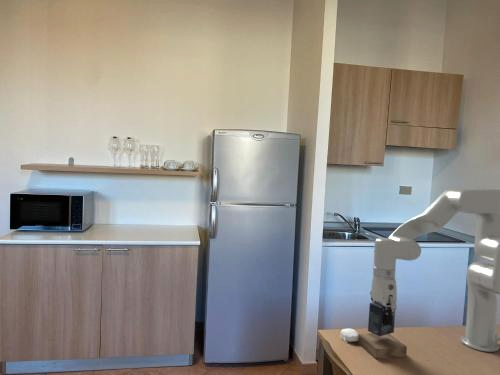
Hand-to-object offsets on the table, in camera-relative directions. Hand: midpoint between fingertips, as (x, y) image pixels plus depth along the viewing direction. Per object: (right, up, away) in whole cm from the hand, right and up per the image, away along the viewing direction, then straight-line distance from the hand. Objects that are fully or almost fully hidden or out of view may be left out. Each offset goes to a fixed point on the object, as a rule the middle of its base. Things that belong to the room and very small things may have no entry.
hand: (381, 320), depth 138 cm
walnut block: (0, -11, 0) cm, 11 cm away
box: (0, -5, 0) cm, 5 cm away
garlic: (-9, -10, +8) cm, 16 cm away
